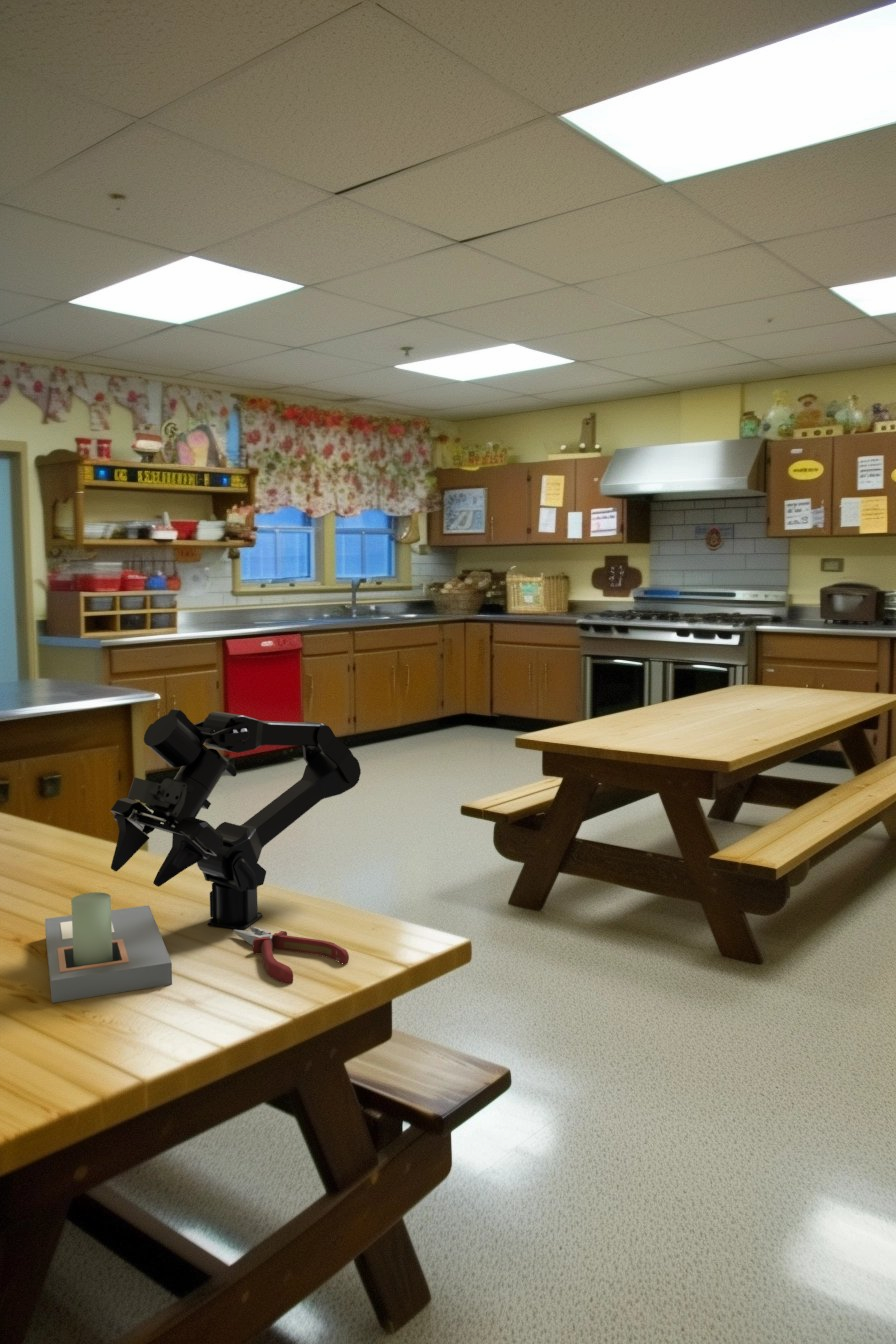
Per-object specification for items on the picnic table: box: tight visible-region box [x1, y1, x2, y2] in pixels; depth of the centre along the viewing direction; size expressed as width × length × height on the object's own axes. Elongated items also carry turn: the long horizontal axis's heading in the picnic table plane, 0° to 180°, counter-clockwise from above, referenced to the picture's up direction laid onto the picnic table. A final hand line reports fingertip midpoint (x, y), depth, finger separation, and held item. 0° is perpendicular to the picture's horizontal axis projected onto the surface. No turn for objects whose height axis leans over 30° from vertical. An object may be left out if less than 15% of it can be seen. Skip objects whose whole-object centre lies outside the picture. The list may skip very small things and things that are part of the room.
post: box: [70, 891, 113, 967], centre depth 138 cm, size 5×5×11 cm
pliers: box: [232, 925, 350, 985], centre depth 147 cm, size 12×20×3 cm, turn 43°
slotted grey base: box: [44, 904, 173, 1004], centre depth 144 cm, size 24×15×3 cm, turn 23°
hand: (134, 877), depth 144 cm, fingers open, 9 cm apart
